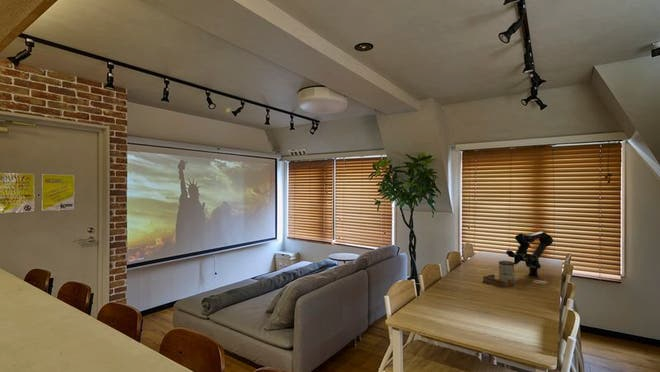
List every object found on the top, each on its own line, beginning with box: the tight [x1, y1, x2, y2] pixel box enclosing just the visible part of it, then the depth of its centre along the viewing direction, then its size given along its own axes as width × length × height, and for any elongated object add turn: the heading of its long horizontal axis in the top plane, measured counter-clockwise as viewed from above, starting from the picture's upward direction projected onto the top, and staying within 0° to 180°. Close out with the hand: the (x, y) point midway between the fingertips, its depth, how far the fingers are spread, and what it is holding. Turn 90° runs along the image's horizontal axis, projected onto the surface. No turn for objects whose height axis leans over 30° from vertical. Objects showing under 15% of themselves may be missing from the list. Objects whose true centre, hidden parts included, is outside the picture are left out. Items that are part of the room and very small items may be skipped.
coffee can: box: [498, 260, 516, 283], centre depth 239 cm, size 10×10×14 cm
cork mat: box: [531, 279, 549, 286], centre depth 234 cm, size 10×10×1 cm
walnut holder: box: [482, 273, 515, 288], centre depth 235 cm, size 11×16×4 cm
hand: (515, 264), depth 244 cm, fingers closed
